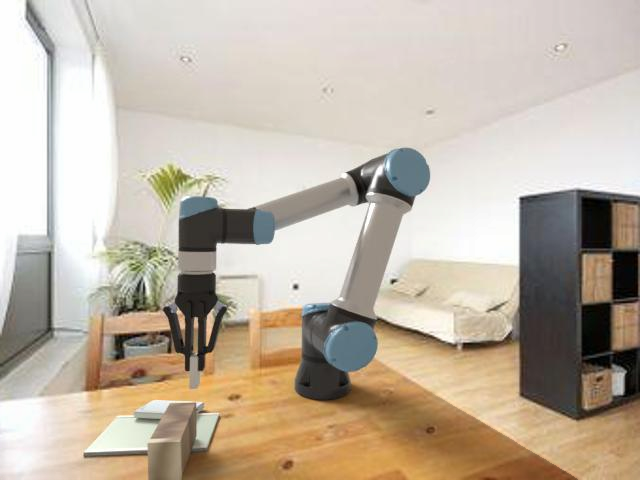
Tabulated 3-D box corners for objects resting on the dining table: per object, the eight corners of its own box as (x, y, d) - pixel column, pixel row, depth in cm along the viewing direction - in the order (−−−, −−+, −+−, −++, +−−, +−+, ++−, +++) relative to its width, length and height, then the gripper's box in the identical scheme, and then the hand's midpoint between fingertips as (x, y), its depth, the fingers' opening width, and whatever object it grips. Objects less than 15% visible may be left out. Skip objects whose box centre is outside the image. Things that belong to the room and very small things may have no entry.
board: (219, 415, 84) (219, 412, 84) (206, 451, 70) (206, 447, 70) (117, 418, 82) (117, 415, 82) (83, 456, 68) (83, 452, 68)
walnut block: (196, 402, 73) (179, 441, 61) (196, 436, 74) (180, 481, 62) (169, 402, 73) (147, 442, 61) (170, 437, 73) (148, 483, 61)
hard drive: (133, 411, 81) (188, 413, 80) (154, 399, 89) (204, 400, 88) (133, 419, 81) (188, 421, 79) (154, 406, 89) (204, 408, 87)
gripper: (231, 270, 81) (229, 378, 81) (169, 270, 80) (167, 379, 80) (226, 274, 74) (224, 393, 74) (158, 273, 72) (155, 394, 73)
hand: (194, 386), depth 77 cm, fingers closed
